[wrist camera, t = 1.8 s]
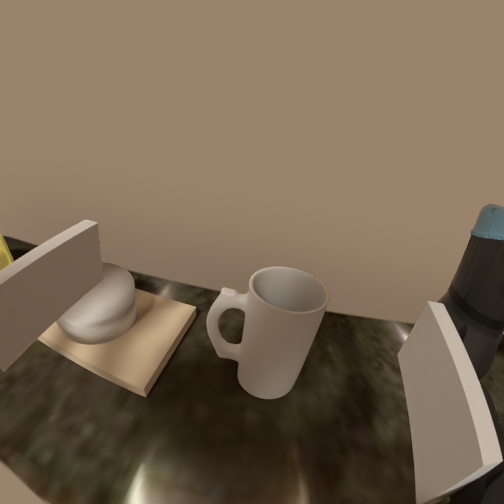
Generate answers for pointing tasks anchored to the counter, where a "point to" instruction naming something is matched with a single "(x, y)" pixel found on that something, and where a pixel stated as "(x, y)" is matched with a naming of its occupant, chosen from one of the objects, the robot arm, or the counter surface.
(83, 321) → the board with round cheese
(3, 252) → the plastic component
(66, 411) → the counter surface
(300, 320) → the mug
